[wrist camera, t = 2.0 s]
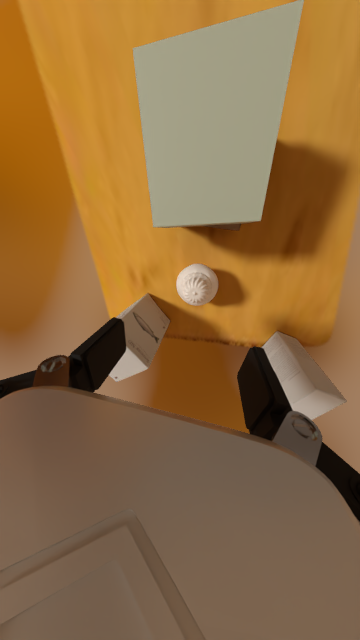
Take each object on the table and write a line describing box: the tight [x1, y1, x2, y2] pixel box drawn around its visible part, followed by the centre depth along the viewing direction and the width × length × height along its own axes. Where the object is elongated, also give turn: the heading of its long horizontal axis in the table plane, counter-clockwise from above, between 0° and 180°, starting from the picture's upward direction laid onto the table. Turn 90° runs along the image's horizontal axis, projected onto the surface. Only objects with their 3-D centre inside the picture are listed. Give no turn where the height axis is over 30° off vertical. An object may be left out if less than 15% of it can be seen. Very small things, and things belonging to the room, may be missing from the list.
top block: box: [133, 0, 304, 228], centre depth 12 cm, size 9×9×5 cm
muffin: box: [176, 264, 218, 306], centre depth 22 cm, size 6×6×7 cm
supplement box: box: [109, 293, 170, 382], centre depth 25 cm, size 7×7×13 cm
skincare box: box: [262, 331, 346, 420], centre depth 24 cm, size 6×4×12 cm
